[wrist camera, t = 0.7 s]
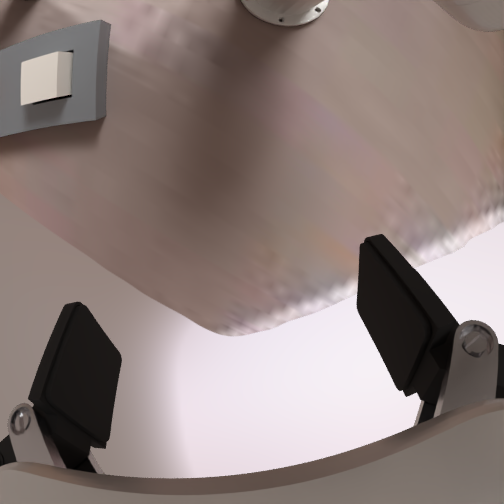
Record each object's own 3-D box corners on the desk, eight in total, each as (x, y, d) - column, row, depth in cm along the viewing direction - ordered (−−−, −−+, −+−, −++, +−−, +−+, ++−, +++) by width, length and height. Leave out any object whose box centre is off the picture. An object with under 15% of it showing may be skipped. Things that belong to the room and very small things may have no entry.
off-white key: (40, 61, 25) (21, 62, 20) (75, 53, 26) (58, 51, 21) (39, 100, 28) (20, 105, 24) (73, 93, 29) (56, 97, 25)
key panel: (-25, 67, 22) (-39, 70, 19) (110, 24, 26) (100, 19, 23) (-24, 141, 29) (-37, 147, 26) (105, 116, 34) (95, 120, 30)
